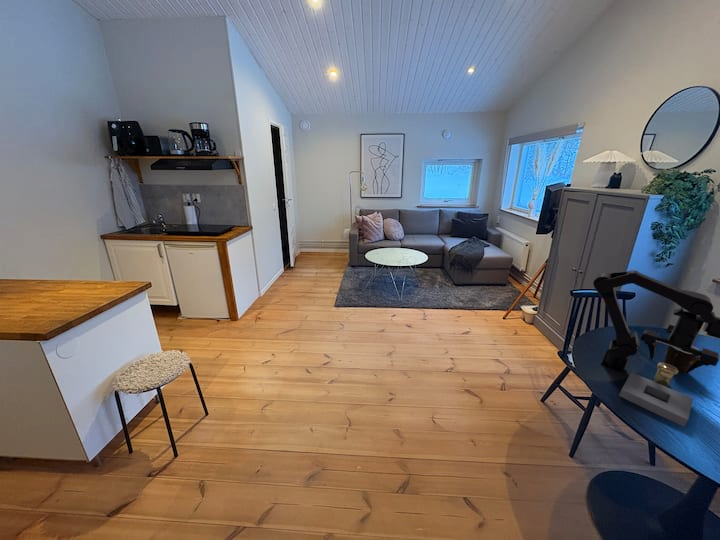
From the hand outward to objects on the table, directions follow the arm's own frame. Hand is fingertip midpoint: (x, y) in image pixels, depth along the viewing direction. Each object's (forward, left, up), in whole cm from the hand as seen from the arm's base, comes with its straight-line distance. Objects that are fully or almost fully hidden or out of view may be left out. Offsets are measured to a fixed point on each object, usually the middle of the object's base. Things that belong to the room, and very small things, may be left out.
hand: (668, 365), depth 106 cm
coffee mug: (+1, +14, -8) cm, 16 cm away
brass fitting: (0, 0, -8) cm, 8 cm away
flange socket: (0, -14, -8) cm, 16 cm away
